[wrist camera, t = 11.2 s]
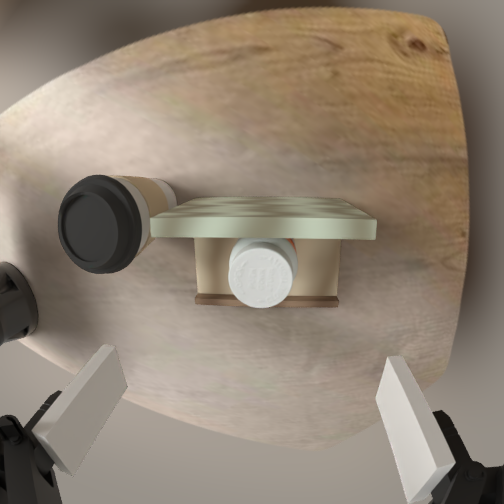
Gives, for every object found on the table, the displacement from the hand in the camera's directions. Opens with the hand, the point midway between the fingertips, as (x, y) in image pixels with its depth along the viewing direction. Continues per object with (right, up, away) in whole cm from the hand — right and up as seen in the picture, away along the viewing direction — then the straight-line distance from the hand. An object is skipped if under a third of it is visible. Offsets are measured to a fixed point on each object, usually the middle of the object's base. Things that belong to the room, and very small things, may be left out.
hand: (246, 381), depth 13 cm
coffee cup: (-12, +12, +23) cm, 29 cm away
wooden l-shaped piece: (+2, +6, +23) cm, 24 cm away
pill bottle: (+2, +7, +21) cm, 23 cm away
